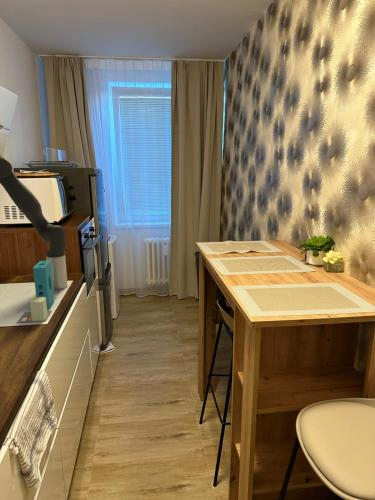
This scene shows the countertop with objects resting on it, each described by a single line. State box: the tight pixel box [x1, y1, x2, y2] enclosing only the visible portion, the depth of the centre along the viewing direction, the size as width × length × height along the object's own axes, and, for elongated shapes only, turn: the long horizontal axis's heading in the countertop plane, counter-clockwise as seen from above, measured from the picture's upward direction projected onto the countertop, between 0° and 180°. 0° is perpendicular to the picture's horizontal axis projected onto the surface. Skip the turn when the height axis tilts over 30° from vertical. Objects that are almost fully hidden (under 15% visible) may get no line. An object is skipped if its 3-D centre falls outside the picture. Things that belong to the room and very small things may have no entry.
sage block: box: [29, 297, 48, 321], centre depth 147 cm, size 5×5×8 cm
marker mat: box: [16, 309, 53, 324], centre depth 150 cm, size 11×12×1 cm
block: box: [32, 260, 55, 310], centre depth 159 cm, size 12×5×20 cm, turn 8°
